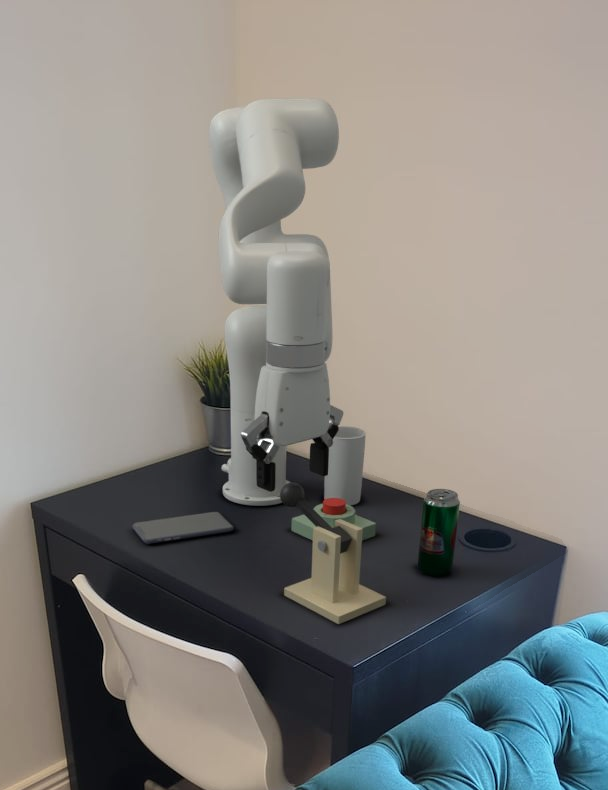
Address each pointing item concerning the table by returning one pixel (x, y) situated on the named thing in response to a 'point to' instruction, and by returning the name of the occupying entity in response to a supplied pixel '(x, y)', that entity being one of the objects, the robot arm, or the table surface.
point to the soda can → (438, 532)
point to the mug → (345, 465)
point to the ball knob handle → (311, 512)
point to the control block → (333, 522)
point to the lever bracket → (336, 578)
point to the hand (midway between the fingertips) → (292, 481)
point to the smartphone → (182, 527)
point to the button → (334, 506)
